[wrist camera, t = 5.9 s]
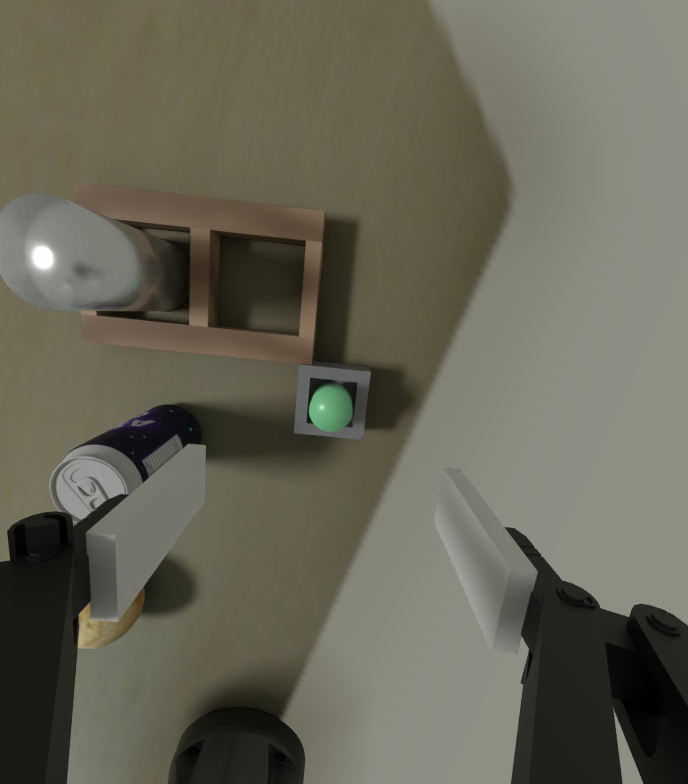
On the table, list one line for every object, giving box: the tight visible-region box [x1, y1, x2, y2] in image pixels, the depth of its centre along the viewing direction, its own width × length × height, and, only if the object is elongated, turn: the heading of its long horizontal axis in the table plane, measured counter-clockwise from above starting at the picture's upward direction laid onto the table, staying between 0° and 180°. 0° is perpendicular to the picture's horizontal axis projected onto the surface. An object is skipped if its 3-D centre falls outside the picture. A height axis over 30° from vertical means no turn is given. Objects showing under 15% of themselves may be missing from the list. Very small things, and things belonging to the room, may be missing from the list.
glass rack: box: [74, 183, 326, 365], centre depth 30 cm, size 12×19×2 cm, turn 84°
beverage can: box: [50, 405, 201, 524], centre depth 28 cm, size 6×6×12 cm
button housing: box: [294, 361, 371, 440], centre depth 32 cm, size 6×6×3 cm
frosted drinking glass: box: [0, 193, 190, 311], centre depth 25 cm, size 6×6×12 cm
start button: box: [309, 382, 353, 432], centre depth 30 cm, size 3×3×3 cm
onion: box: [78, 587, 145, 649], centre depth 34 cm, size 8×8×7 cm
